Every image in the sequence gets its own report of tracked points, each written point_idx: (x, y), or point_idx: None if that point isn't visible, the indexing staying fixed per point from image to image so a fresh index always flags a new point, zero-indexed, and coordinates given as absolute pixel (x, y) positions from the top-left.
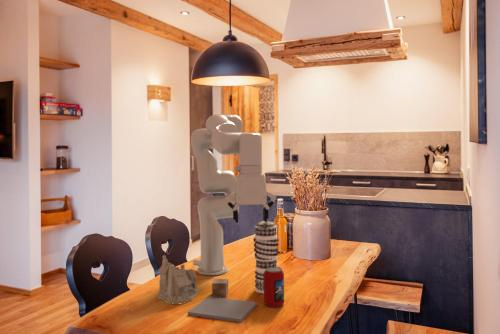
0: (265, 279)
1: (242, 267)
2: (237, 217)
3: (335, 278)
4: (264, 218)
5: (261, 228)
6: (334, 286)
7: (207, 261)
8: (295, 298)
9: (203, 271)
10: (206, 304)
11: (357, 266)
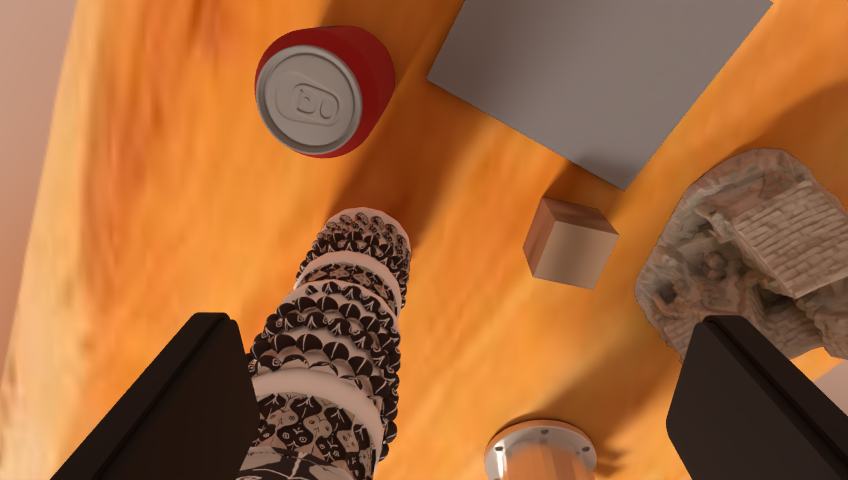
0: (375, 66)
1: (425, 473)
2: (770, 373)
3: (84, 322)
4: (217, 360)
5: (321, 462)
6: (85, 241)
7: (575, 476)
8: (252, 132)
9: (579, 445)
10: (659, 89)
11: (6, 421)
